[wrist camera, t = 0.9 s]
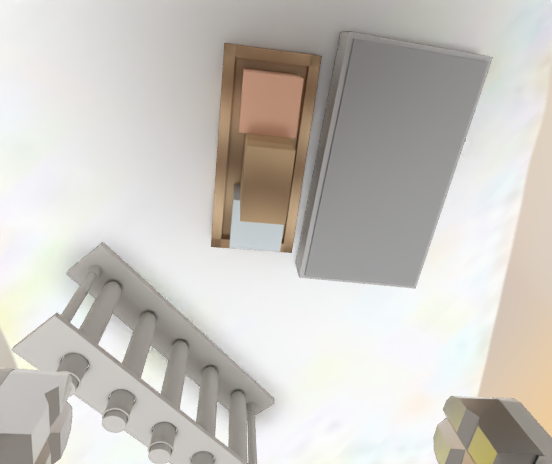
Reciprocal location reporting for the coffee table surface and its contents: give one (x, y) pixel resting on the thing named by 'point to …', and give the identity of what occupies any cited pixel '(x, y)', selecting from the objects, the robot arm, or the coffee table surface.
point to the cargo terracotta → (270, 103)
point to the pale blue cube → (252, 230)
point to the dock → (386, 158)
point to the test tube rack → (127, 375)
